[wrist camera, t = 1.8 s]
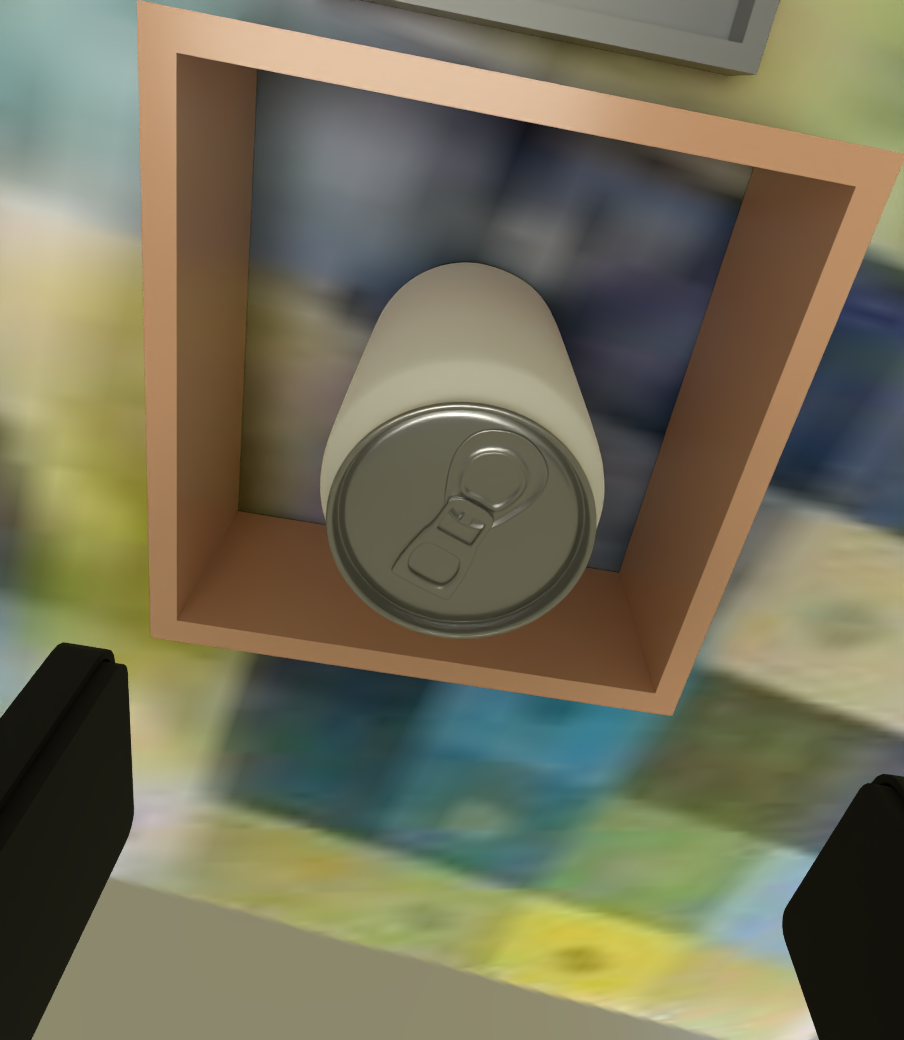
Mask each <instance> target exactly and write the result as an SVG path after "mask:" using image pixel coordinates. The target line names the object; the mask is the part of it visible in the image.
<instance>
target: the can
mask: <svg viewBox="0 0 904 1040" xmlns="http://www.w3.org/2000/svg"><path fill="white" fill-rule="evenodd" d="M320 495H321V503H322V508H323V513H324V517H325V520H326V531H327V538H328V543H329V547H330V550H331V553H332V556H333V559H334V561H335V563H336V566H337V568H338V570H339V571H340V573H341V575H342V577H343V578H344V580H345V581H346V582H347V584H348V585H349V586H350V588H351V589H352V590H353V591H354V592H355V594H356V595H357V596H358V597H359V598H360V599H361V600H362V601H363V602H364V603H366V604H367V605H368V606H369V607H370V608H372V609H373V610H374V611H376V612H377V613H379V614H380V615H382V616H383V617H385V618H386V619H388V620H390V621H392V622H394V623H396V624H398V625H400V626H402V627H405V628H407V629H410V630H413V631H416V632H419V633H422V634H426V635H431V636H436V637H443V638H454V639H471V638H482V637H488V636H494V635H498V634H502V633H506V632H509V631H512V630H515V629H517V628H520V627H522V626H524V625H527V624H529V623H531V622H533V621H534V620H536V619H538V618H540V617H541V616H543V615H544V614H546V613H547V612H549V611H550V610H551V609H552V608H554V607H555V606H556V605H557V604H558V603H559V602H561V601H562V600H563V599H564V598H565V597H566V596H567V594H568V593H569V592H570V591H571V590H572V589H573V587H574V586H575V585H576V583H577V582H578V580H579V579H580V577H581V576H582V574H583V572H584V570H585V568H586V566H587V564H588V562H589V559H590V556H591V553H592V550H593V546H594V542H595V536H596V529H597V526H598V523H599V520H600V517H601V513H602V508H603V502H604V471H603V463H602V458H601V454H600V450H599V446H598V442H597V439H596V436H595V433H594V429H593V426H592V423H591V420H590V417H589V414H588V411H587V408H586V405H585V402H584V399H583V397H582V394H581V391H580V388H579V385H578V382H577V379H576V376H575V373H574V371H573V368H572V365H571V362H570V359H569V357H568V354H567V351H566V348H565V345H564V343H563V340H562V337H561V334H560V332H559V329H558V327H557V324H556V322H555V320H554V318H553V316H552V313H551V312H550V310H549V308H548V306H547V305H546V303H545V302H544V300H543V299H542V297H541V296H540V295H539V294H538V293H537V292H536V291H535V290H534V289H533V288H532V287H531V286H530V285H528V284H527V283H526V282H524V281H523V280H521V279H520V278H518V277H516V276H514V275H512V274H510V273H508V272H506V271H504V270H501V269H498V268H495V267H492V266H489V265H485V264H480V263H469V262H463V263H452V264H447V265H442V266H439V267H436V268H433V269H430V270H428V271H426V272H423V273H421V274H420V275H418V276H416V277H415V278H413V279H412V280H410V281H409V282H407V283H406V284H405V285H404V286H403V287H402V288H400V289H399V290H398V291H397V292H396V294H395V295H394V296H393V297H392V298H391V299H390V301H389V302H388V303H387V305H386V306H385V308H384V310H383V311H382V313H381V315H380V317H379V319H378V321H377V323H376V325H375V327H374V330H373V332H372V334H371V336H370V339H369V341H368V343H367V345H366V348H365V350H364V353H363V355H362V357H361V360H360V362H359V364H358V367H357V369H356V371H355V374H354V376H353V379H352V381H351V383H350V386H349V388H348V391H347V393H346V395H345V398H344V400H343V403H342V405H341V408H340V410H339V412H338V415H337V417H336V420H335V423H334V425H333V428H332V430H331V433H330V436H329V439H328V442H327V445H326V448H325V452H324V456H323V461H322V468H321V476H320Z"/></svg>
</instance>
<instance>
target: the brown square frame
mask: <svg viewBox="0 0 904 1040" xmlns="http://www.w3.org/2000/svg"><path fill="white" fill-rule="evenodd" d="M137 24H138V71H139V118H140V164H141V211H142V258H143V304H144V351H145V398H146V445H147V491H148V538H149V585H150V632H151V637H152V638H158V639H165V640H172V641H178V642H185V643H191V644H198V645H205V646H211V647H218V648H225V649H231V650H238V651H244V652H251V653H258V654H264V655H271V656H278V657H284V658H291V659H298V660H304V661H311V662H317V663H324V664H331V665H337V666H344V667H351V668H357V669H364V670H371V671H377V672H384V673H390V674H397V675H404V676H410V677H417V678H424V679H430V680H437V681H443V682H450V683H457V684H463V685H470V686H477V687H483V688H490V689H497V690H503V691H510V692H516V693H523V694H530V695H536V696H543V697H550V698H556V699H563V700H569V701H576V702H583V703H589V704H596V705H603V706H609V707H616V708H623V709H629V710H636V711H642V712H649V713H656V714H662V715H669V716H672V715H673V712H674V710H675V708H676V705H677V703H678V700H679V698H680V696H681V693H682V691H683V688H684V686H685V684H686V681H687V679H688V676H689V674H690V672H691V669H692V667H693V664H694V662H695V660H696V657H697V655H698V652H699V650H700V648H701V645H702V643H703V641H704V638H705V636H706V633H707V631H708V629H709V626H710V624H711V621H712V619H713V617H714V614H715V612H716V609H717V607H718V605H719V602H720V600H721V597H722V595H723V593H724V590H725V588H726V585H727V583H728V581H729V578H730V576H731V573H732V571H733V569H734V566H735V564H736V561H737V559H738V557H739V554H740V552H741V550H742V547H743V545H744V542H745V540H746V538H747V535H748V533H749V530H750V528H751V526H752V523H753V521H754V518H755V516H756V514H757V511H758V509H759V506H760V504H761V502H762V499H763V497H764V494H765V492H766V490H767V487H768V485H769V482H770V480H771V478H772V475H773V473H774V471H775V468H776V466H777V463H778V461H779V459H780V456H781V454H782V451H783V449H784V447H785V444H786V442H787V439H788V437H789V435H790V432H791V430H792V427H793V425H794V423H795V420H796V418H797V415H798V413H799V411H800V408H801V406H802V403H803V401H804V399H805V396H806V394H807V391H808V389H809V387H810V384H811V382H812V380H813V377H814V375H815V372H816V370H817V368H818V365H819V363H820V360H821V358H822V356H823V353H824V351H825V348H826V346H827V344H828V341H829V339H830V336H831V334H832V332H833V329H834V327H835V324H836V322H837V320H838V317H839V315H840V312H841V310H842V308H843V305H844V303H845V301H846V298H847V296H848V293H849V291H850V289H851V286H852V284H853V281H854V279H855V277H856V274H857V272H858V269H859V267H860V265H861V262H862V260H863V257H864V255H865V253H866V250H867V248H868V245H869V243H870V241H871V238H872V236H873V233H874V231H875V229H876V226H877V224H878V221H879V219H880V217H881V214H882V212H883V210H884V207H885V205H886V202H887V200H888V198H889V195H890V193H891V190H892V188H893V186H894V183H895V181H896V178H897V176H898V174H899V171H900V169H901V166H902V164H903V162H904V154H902V153H897V152H892V151H888V150H883V149H878V148H873V147H868V146H863V145H858V144H853V143H848V142H843V141H838V140H833V139H828V138H823V137H818V136H813V135H808V134H803V133H798V132H793V131H788V130H783V129H778V128H773V127H768V126H763V125H758V124H753V123H748V122H743V121H738V120H733V119H728V118H723V117H718V116H713V115H708V114H703V113H698V112H693V111H688V110H683V109H678V108H673V107H668V106H663V105H658V104H653V103H648V102H643V101H638V100H633V99H628V98H623V97H618V96H613V95H608V94H603V93H598V92H593V91H588V90H583V89H578V88H573V87H568V86H563V85H558V84H554V83H549V82H544V81H539V80H534V79H529V78H524V77H519V76H514V75H509V74H504V73H499V72H494V71H489V70H484V69H479V68H474V67H469V66H464V65H459V64H454V63H449V62H444V61H439V60H434V59H429V58H424V57H419V56H414V55H409V54H404V53H399V52H394V51H389V50H384V49H379V48H374V47H369V46H364V45H359V44H354V43H349V42H344V41H339V40H334V39H329V38H324V37H319V36H314V35H309V34H304V33H299V32H294V31H289V30H284V29H279V28H274V27H269V26H264V25H259V24H254V23H249V22H244V21H239V20H234V19H229V18H225V17H220V16H215V15H210V14H205V13H200V12H195V11H190V10H185V9H180V8H175V7H170V6H165V5H160V4H155V3H150V2H145V1H140V0H137ZM257 69H262V70H267V71H272V72H277V73H282V74H287V75H292V76H297V77H302V78H308V79H313V80H318V81H323V82H328V83H333V84H338V85H343V86H348V87H353V88H358V89H363V90H368V91H374V92H379V93H384V94H389V95H394V96H399V97H404V98H409V99H414V100H419V101H424V102H429V103H434V104H439V105H445V106H450V107H455V108H460V109H465V110H470V111H475V112H480V113H485V114H490V115H495V116H500V117H505V118H511V119H516V120H521V121H526V122H531V123H536V124H541V125H546V126H551V127H556V128H561V129H566V130H571V131H576V132H582V133H587V134H592V135H597V136H602V137H607V138H612V139H617V140H622V141H627V142H632V143H637V144H642V145H648V146H653V147H658V148H663V149H668V150H673V151H678V152H683V153H688V154H693V155H698V156H703V157H708V158H713V159H719V160H724V161H729V162H734V163H739V164H744V165H749V166H754V169H753V172H752V175H751V178H750V181H749V184H748V187H747V190H746V193H745V196H744V199H743V202H742V205H741V208H740V211H739V214H738V217H737V220H736V223H735V226H734V229H733V232H732V235H731V238H730V241H729V244H728V247H727V250H726V253H725V256H724V259H723V262H722V265H721V268H720V271H719V274H718V277H717V280H716V283H715V286H714V289H713V292H712V295H711V298H710V301H709V304H708V307H707V310H706V313H705V316H704V319H703V322H702V325H701V328H700V331H699V334H698V337H697V340H696V343H695V346H694V349H693V352H692V355H691V358H690V361H689V364H688V367H687V370H686V373H685V376H684V379H683V382H682V385H681V388H680V391H679V394H678V397H677V400H676V403H675V406H674V409H673V412H672V415H671V418H670V421H669V424H668V427H667V430H666V433H665V436H664V439H663V442H662V445H661V448H660V451H659V454H658V457H657V460H656V463H655V466H654V469H653V472H652V475H651V478H650V481H649V484H648V487H647V490H646V493H645V496H644V499H643V502H642V505H641V508H640V511H639V514H638V517H637V520H636V523H635V526H634V529H633V532H632V535H631V538H630V541H629V544H628V547H627V550H626V553H625V556H624V559H623V562H622V565H621V568H620V571H619V573H618V572H612V571H606V570H600V569H593V568H587V567H586V568H585V570H584V572H583V574H582V576H581V577H580V579H579V580H578V582H577V583H576V585H575V586H574V587H573V589H572V590H571V591H570V592H569V593H568V594H567V596H566V597H565V598H564V599H563V600H562V601H561V602H559V603H558V604H557V605H556V606H555V607H554V608H552V609H551V610H550V611H549V612H547V613H546V614H544V615H543V616H541V617H540V618H538V619H536V620H534V621H533V622H531V623H529V624H527V625H524V626H522V627H520V628H517V629H515V630H512V631H509V632H506V633H502V634H498V635H494V636H488V637H482V638H471V639H454V638H443V637H436V636H431V635H426V634H422V633H419V632H416V631H413V630H410V629H407V628H405V627H402V626H400V625H398V624H396V623H394V622H392V621H390V620H388V619H386V618H385V617H383V616H382V615H380V614H379V613H377V612H376V611H374V610H373V609H372V608H370V607H369V606H368V605H367V604H366V603H364V602H363V601H362V600H361V599H360V598H359V597H358V596H357V595H356V594H355V592H354V591H353V590H352V589H351V588H350V586H349V585H348V584H347V582H346V581H345V580H344V578H343V577H342V575H341V573H340V571H339V570H338V568H337V566H336V563H335V561H334V559H333V556H332V553H331V550H330V547H329V543H328V538H327V531H326V525H321V524H315V523H309V522H303V521H297V520H290V519H284V518H278V517H272V516H266V515H260V514H253V513H247V512H241V511H238V503H239V480H240V457H241V434H242V411H243V388H244V365H245V342H246V319H247V296H248V273H249V250H250V227H251V204H252V181H253V158H254V135H255V112H256V89H257Z"/></svg>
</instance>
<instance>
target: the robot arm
mask: <svg viewBox="0 0 904 1040" xmlns="http://www.w3.org/2000/svg"><path fill="white" fill-rule="evenodd" d="M133 816H134V800H133V778H132V756H131V734H130V712H129V690H128V671H127V667H126V665H124V664H118V663H115V659H114V654H113V653H112V651H111V650H108V649H101V648H95V647H89V646H83V645H76V644H70V643H64V642H63V643H61V644H59V645H57V646H56V647H55V648H54V649H53V651H52V652H51V653H50V654H49V656H48V657H47V658H46V660H45V661H44V662H43V664H42V665H41V666H40V667H39V669H38V670H37V671H36V673H35V674H34V675H33V676H32V678H31V679H30V680H29V682H28V683H27V684H26V686H25V687H24V688H23V689H22V691H21V692H20V693H19V695H18V696H17V697H16V699H15V700H14V701H13V702H12V704H11V705H10V706H9V708H8V709H7V710H6V712H5V713H4V714H3V715H2V717H1V718H0V1040H31V1039H32V1037H33V1035H34V1033H35V1031H36V1029H37V1027H38V1025H39V1022H40V1020H41V1018H42V1016H43V1014H44V1012H45V1010H46V1007H47V1006H48V1003H49V1002H50V1000H51V997H52V995H53V993H54V991H55V989H56V987H57V985H58V983H59V981H60V979H61V977H62V974H63V972H64V970H65V968H66V966H67V964H68V962H69V960H70V958H71V956H72V953H73V951H74V949H75V947H76V945H77V943H78V941H79V939H80V937H81V935H82V932H83V931H84V929H85V926H86V924H87V922H88V920H89V918H90V916H91V914H92V911H93V910H94V908H95V906H96V903H97V901H98V899H99V897H100V895H101V893H102V891H103V889H104V887H105V885H106V882H107V880H108V878H109V876H110V874H111V872H112V870H113V868H114V866H115V864H116V862H117V860H118V858H119V855H120V853H121V851H122V849H123V847H124V845H125V843H126V841H127V838H128V836H129V833H130V830H131V826H132V822H133ZM782 927H783V935H784V939H785V942H786V945H787V948H788V951H789V954H790V957H791V960H792V963H793V965H794V968H795V971H796V974H797V977H798V980H799V983H800V986H801V989H802V991H803V994H804V997H805V1000H806V1003H807V1006H808V1009H809V1012H810V1015H811V1018H812V1020H813V1023H814V1026H815V1029H816V1032H817V1035H818V1038H819V1040H904V777H901V776H895V775H889V774H882V775H880V776H877V777H876V778H875V779H874V781H873V782H872V783H867V784H865V785H863V786H862V787H861V788H860V790H859V791H858V793H857V794H856V796H855V798H854V799H853V801H852V802H851V804H850V806H849V807H848V809H847V810H846V812H845V814H844V815H843V817H842V818H841V820H840V822H839V823H838V825H837V826H836V828H835V830H834V831H833V833H832V834H831V836H830V838H829V839H828V841H827V842H826V844H825V846H824V847H823V849H822V850H821V852H820V854H819V855H818V857H817V858H816V860H815V862H814V863H813V865H812V866H811V868H810V870H809V871H808V873H807V874H806V876H805V878H804V879H803V881H802V882H801V884H800V886H799V887H798V889H797V890H796V892H795V893H794V895H793V897H792V898H791V900H790V901H789V903H788V905H787V906H786V908H785V911H784V914H783V922H782Z"/></svg>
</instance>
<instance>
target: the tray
mask: <svg viewBox="0 0 904 1040" xmlns="http://www.w3.org/2000/svg"><path fill="white" fill-rule="evenodd" d="M362 1H367V2H372V3H377V4H381V5H386V6H391V7H396V8H401V9H406V10H411V11H416V12H421V13H426V14H430V15H435V16H440V17H445V18H450V19H455V20H460V21H465V22H470V23H474V24H479V25H484V26H489V27H494V28H499V29H504V30H509V31H514V32H519V33H523V34H528V35H533V36H538V37H543V38H548V39H553V40H558V41H563V42H568V43H572V44H577V45H582V46H587V47H592V48H597V49H602V50H607V51H612V52H617V53H621V54H626V55H631V56H636V57H641V58H646V59H651V60H656V61H661V62H666V63H670V64H675V65H680V66H685V67H690V68H695V69H700V70H705V71H710V72H714V73H719V74H724V75H729V76H738V75H756V74H757V71H758V68H759V65H760V61H761V58H762V55H763V52H764V49H765V46H766V42H767V39H768V36H769V33H770V30H771V27H772V24H773V20H774V17H775V14H776V11H777V8H778V5H779V1H780V0H362Z"/></svg>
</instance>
